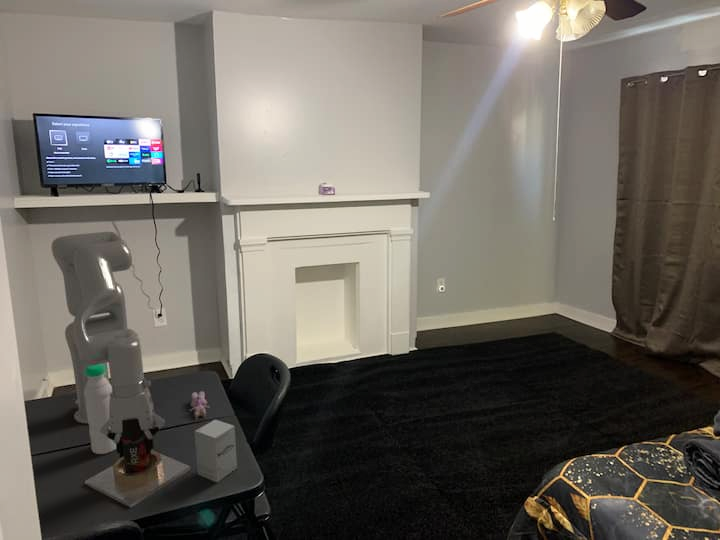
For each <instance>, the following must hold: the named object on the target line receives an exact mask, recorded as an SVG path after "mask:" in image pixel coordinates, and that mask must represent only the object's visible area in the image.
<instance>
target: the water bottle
mask: <svg viewBox="0 0 720 540" xmlns="http://www.w3.org/2000/svg"><path fill="white" fill-rule="evenodd" d="M104 374H105V366H104V365H103V364H99V365H95V366H88V367H87V368H86V375H87V377H88V378H89V380H88V382H87V386H86V388H85V390H84V396H85V398H86V411H87V418H88V423H87V424H88V426H89V429H88V430H89V437H90V447H91V451H92V452H93V453H94V454H96V455H106V454H109V452H110V453H111V452H114V451H115V450H117V448H116V443H114V441H113V440H111V439H110V438H108V437H107V436H106V435H104V434H103V433H101V432H100V429H101V427H102V426H103V425H104V424H105V423H106V422H107V420H108V419H109V400H110V394H111V392H112V386H111V382H110V381H109V382H108V380H107V379H106V378H105V377H104ZM108 429H110V427H109V428H108Z"/></svg>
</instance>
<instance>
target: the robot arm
mask: <svg viewBox="0 0 720 540" xmlns="http://www.w3.org/2000/svg"><path fill="white" fill-rule="evenodd" d="M51 253H52V256H53V258H54V260H55V262H56V264H57V265H58V267H59V269H60V271H61V273H62V276H63V283H64V290H65V291H64V293H65V299H66V305H67V309H68V312H69V314H70V316H72V317H74V319H73V321H72V322H71V323H69V324H68V325H67V326H66V328H65V331H64V337H65V340H66V343H67V346H68V350H69V353H70V356H71V363H72V369H73V376H74V382H75V389H76V390H75V391H76V395H77V399H76V400H75V401H74V403H75V404H76V405H78V410H77V411H76V412H75V413H74V421H75V422H77V423H81V424H89V423H88V418H87V411H86V398H85V396H84V390H85V388H86V386H87V382H88V380H89V378H88V377H87V375H86V368H87V367H88V366H95V365H99V364H103V365H104V366H105V374H104V377H105V378H106V379H107V380H108V382H109V383H110V385H111V386H112V392H111V394H110V400H109V419H108V420H107V422H106V423H105V424H104V425H103V426H102V427H101V429H100V432H101V433H103V434H104V435H106V436H107V437H108V438H110V439H111V440H113V441H114V443H116V453H117V454H118V455H119V459H120V458H122V457H124V455H123V446H122V438H121V433H122V420H131V419H138V420H139V424H140V427H141V430H144V433H145V434H146V436H147V439H146V447H147V454H150V453H151V450H153V449H154V447H155V446H154V445H155V444H154V436H155V435H156V434H157V433H158V432H159V431H160V429H161V428H162V427H164V425H165V423H166V420H165V419H164V418H163V417H161V415H159V414H157V413H155V410H154V403H153V399H152V395H151V392H150V389H149V387H151V386H152V385H151V384H152V382H151V380H147V379H145V375H144V366H143V365H144V364H143V357H142V348H141V343H140V337H139V334H138V333H136V331H135V330H134V329H131V328H128V320H127V317H128V316H127V308H126V297H125V294H124V293H125V292H124V290H123V287H122V285H120V283H118V282H116V279H115V277H114V274H113V273H116V272H124V271H128V270H129V269H130V268H132V267H131V266H132V265H133V257H132V253H131V251H130V248H129V246H128V244H127V243H126V242H125V240H124V239H123V238H121V237H120V236H119V235H118V234H117V233H115V232H113V231H101V232H99V231H98V232H92V233H80V234H79V233H78V234H77V233H76V234H70V235H64V236H59V237H57V238H55V239H54V240H53V241H52V242H51ZM102 314H105V315H102ZM96 315H99V316H96ZM100 315H101V316H100ZM93 316H94V317H93ZM154 422H155V423H156V425H154ZM109 427H110V429H108V428H109Z"/></svg>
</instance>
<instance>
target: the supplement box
mask: <svg viewBox="0 0 720 540" xmlns="http://www.w3.org/2000/svg"><path fill="white" fill-rule="evenodd" d="M235 432H236V430H235V425H233V424H230V423H227V422H223V421H221V420H217V419H213V420H211V421H210V422H209V423H207V424H204V425H203V426H201V427H199V428H197V429H196V430H194V443H195V454H196V455H195V457H196V467H197V469H196V470H197V475H198V476H201V477H203V478H205V479H208V480H210V481H212V482H214V483H219V482H220V481H222V480H223V479H224V478H226V477H227V476H228V475H230V474H231V473H233V472H234V471H236V470H237V469H238V461H237V446H236V433H235ZM236 468H237V469H236ZM235 469H236V470H235ZM232 471H233V472H232Z"/></svg>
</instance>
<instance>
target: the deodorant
mask: <svg viewBox="0 0 720 540" xmlns="http://www.w3.org/2000/svg"><path fill="white" fill-rule="evenodd" d="M121 438H122V446H123V455H124V456H123V457H124V463H125V471H126V473H127V474H135V473H139V472H143V471H146V470H147V469H149V468H150V460H149V454H147V447H146V439H147V436H146V434H145V433H144V430H141V427H140V424H139V420H138V419H131V420H122V433H121Z"/></svg>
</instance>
